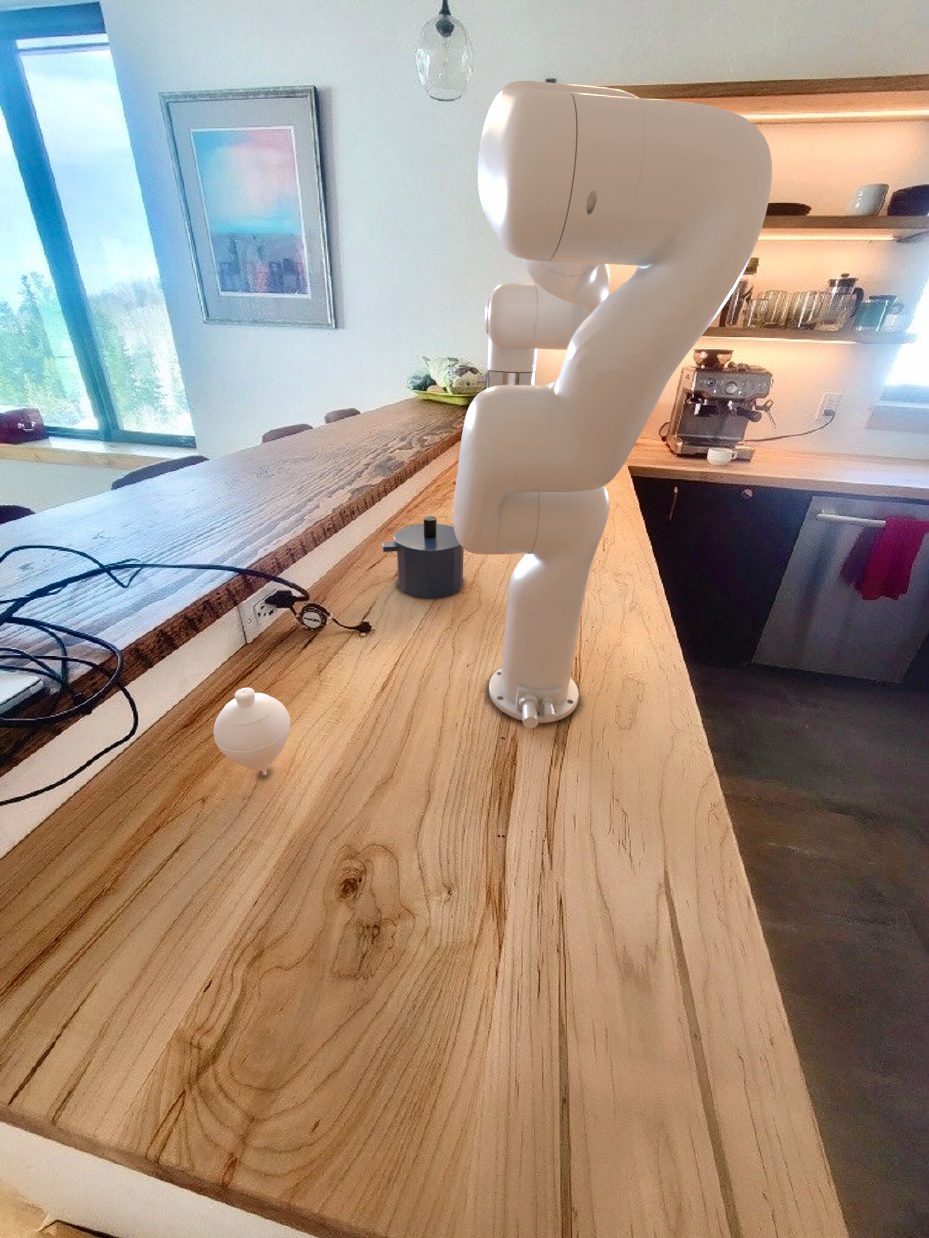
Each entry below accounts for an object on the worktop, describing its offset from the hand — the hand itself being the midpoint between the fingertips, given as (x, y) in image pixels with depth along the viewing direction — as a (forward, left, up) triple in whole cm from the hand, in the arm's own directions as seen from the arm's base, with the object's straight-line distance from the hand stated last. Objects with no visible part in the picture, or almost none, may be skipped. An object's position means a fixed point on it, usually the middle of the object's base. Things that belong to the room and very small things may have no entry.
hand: (503, 498), depth 87 cm
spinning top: (-46, +27, -19) cm, 57 cm away
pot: (+4, +13, -19) cm, 23 cm away
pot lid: (+4, +13, -10) cm, 17 cm away
